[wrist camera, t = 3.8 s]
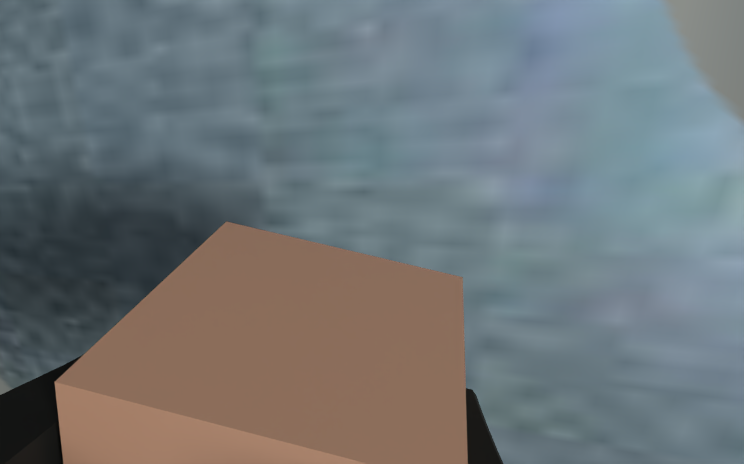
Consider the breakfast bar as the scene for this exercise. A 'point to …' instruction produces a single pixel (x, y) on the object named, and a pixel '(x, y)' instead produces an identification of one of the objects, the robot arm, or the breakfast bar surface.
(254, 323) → the terracotta cube
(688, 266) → the breakfast bar surface
